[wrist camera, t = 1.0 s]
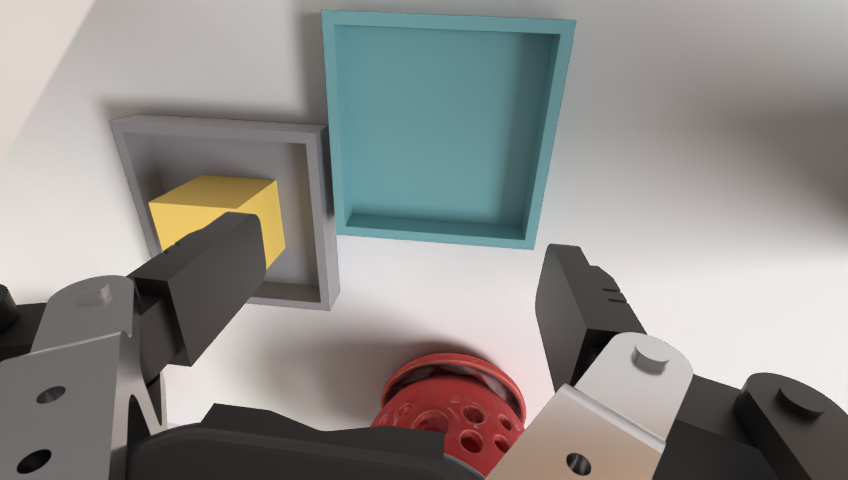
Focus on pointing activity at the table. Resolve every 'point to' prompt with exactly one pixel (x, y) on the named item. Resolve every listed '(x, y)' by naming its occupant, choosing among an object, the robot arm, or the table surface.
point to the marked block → (219, 209)
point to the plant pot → (457, 406)
